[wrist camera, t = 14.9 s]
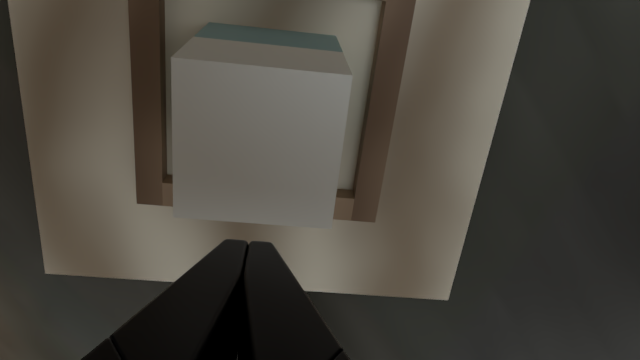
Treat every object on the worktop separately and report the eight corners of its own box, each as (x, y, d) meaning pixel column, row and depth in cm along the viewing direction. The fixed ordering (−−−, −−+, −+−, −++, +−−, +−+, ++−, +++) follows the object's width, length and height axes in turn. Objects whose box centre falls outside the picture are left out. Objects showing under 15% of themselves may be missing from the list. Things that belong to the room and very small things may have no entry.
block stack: (335, 35, 18) (352, 75, 13) (321, 151, 20) (331, 229, 15) (209, 22, 18) (171, 57, 12) (207, 141, 20) (173, 217, 14)
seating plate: (558, -152, 17) (586, -162, 15) (442, 286, 24) (452, 311, 23) (-8, -236, 15) (-44, -258, 14) (55, 260, 23) (36, 284, 21)
